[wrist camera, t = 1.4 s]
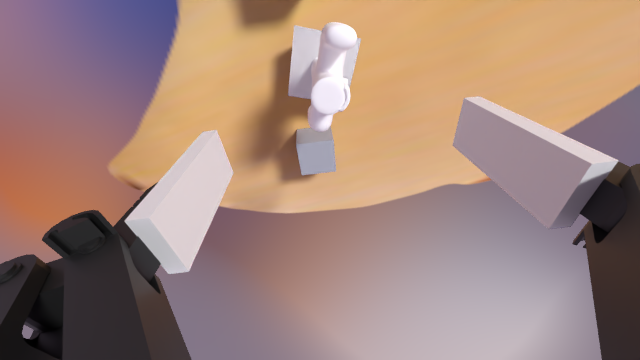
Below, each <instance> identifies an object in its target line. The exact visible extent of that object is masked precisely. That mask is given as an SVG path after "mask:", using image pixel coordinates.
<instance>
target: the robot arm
mask: <svg viewBox="0 0 640 360" xmlns="http://www.w3.org/2000/svg"><path fill="white" fill-rule="evenodd" d="M453 146H454V147H455V148H456V149H457V150H458V151H460V152H461V153H462V154H463V155H464V156H465V157H466V158H468V159H469V160H470V161H471V162H472V163H473V164H474V165H476V166H477V167H478V168H479V169H480V170H481V171H482V172H484V173H485V174H486V175H487V176H488V177H489V178H491V179H492V180H493V181H494V182H495V183H496V184H497V185H499V186H500V187H501V188H502V189H503V190H505V192H507V193H508V194H509V195H510V196H511V197H512V198H513V199H515V200H516V201H517V202H518V203H519V204H520V205H521V206H523V207H524V208H525V209H526V210H527V211H529V212H530V213H531V214H532V215H533V216H534V217H535V218H536V219H538V220H539V221H540V222H541V223H542V224H543V225H545V226H546V227H547V228H548V229H556V228H565V227H571V225H572V224H573V223H574V221H575V220H576V219H577V217H578V216H579V214H581V215H583V216H584V217H586V218H587V219H588V220H589V221H588V223H587V224H586V225H585V226H584V228H583V229H582V230H581V232H580V233H579V234H578V236H577V237H576V238H575V239H574V241H573V244H574V245H577V244H578V243H579V242H580V241H583V240H585V242H586V244H585V245H584V246H583V248H586V249H587V256H588V262H589V270H590V277H591V285H592V292H593V299H594V306H595V313H596V320H597V327H598V335H599V342H600V349H601V355H602V360H640V164H636V165H633V166H631V167H629V166H627V165H625V164H622V163H620V162H618V160H616V159H614V158H612V157H610V156H608V155H605V154H603V153H601V152H599V151H597V150H594V149H592V148H590V147H588V146H586V145H583V144H581V143H579V142H577V141H575V140H573V139H571V138H568V137H566V136H564V135H562V134H560V133H558V132H555V131H553V130H551V129H549V128H547V127H545V126H542V125H540V124H538V123H536V122H534V121H531V120H529V119H527V118H525V117H523V116H521V115H518V114H516V113H514V112H512V111H510V110H508V109H505V108H503V107H501V106H499V105H497V104H495V103H492V102H490V101H488V100H486V99H484V98H481V97H479V96H477V97H469V98H464V100H463V104H462V108H461V113H460V117H459V121H458V125H457V129H456V133H455V137H454V142H453ZM232 175H233V170H232V168H231V165H230V163H229V160H228V158H227V155H226V153H225V150H224V147H223V145H222V142H221V140H220V137H219V135H218V132H217V130H213V131H205V132H202V133H201V134H200V135H199V136H198V138H197V139H196V140H195V141H194V142H193V143H192V144H191V146H190V147H189V148H188V149H187V150H186V151H185V152H184V154H183V155H182V156H181V157H180V158H179V159H178V160H177V162H176V163H175V164H174V165H173V166H172V167H171V168H170V169H169V171H168V172H167V173H166V174H165V175H164V176H163V177H162V179H161V180H160V181H159V182H157V183H156V184H154V185H153V186H152V187H150V188H149V189H147V190H146V191H145V192H144V194H143V195H142V196H141V197H140V200H137V201H136V203H134V205H133V207H131V208H130V209H129V210H128V211H127V212H126V213H125V215H124V216H123V217H122V218H121V219H120V220H119V221H118V222H117V223H116V225H115V226H114V227H112V225H111V224H110V223H109V222H108V221H107V220H106V219H105V218H104V217H103V216H102V214H101V213H100V212H99V211H96V210H90V211H84V212H81V213H78V214H75V215H73V216H71V217H69V218H67V219H65V220H63V221H61V222H60V223H58V224H56V225H55V226H53V227H52V228H51V229H50V230H49V231H48V232H47V233H46V234H45V235H44V237H43V239H42V241H44V242H45V243H46V244H47V245H48V246H50V247H51V248H52V249H53V250H54V251H56V252H57V253H58V254H59V255H60V256H62V257H63V258H61V259H58V260H55V261H52V262H49V263H46V264H45V263H44V262H43V261H42V260H40V259H39V258H38V257H36V256H35V255H24V256H20V257H17V258H15V259H12V260H10V261H6V262H4V263H2V264H0V360H191V357H190V355H189V352H188V350H187V347H186V345H185V342H184V340H183V337H182V334H181V332H180V329H179V327H178V324H177V322H176V319H175V317H174V314H173V312H172V309H171V306H170V304H169V302H168V299H167V296H166V294H165V291H164V289H163V286H162V284H161V281H160V279H159V278H158V277H157V276H156V275H155V273H156V271H157V269H158V268H159V266H160V264H161V265H162V267H163V268H164V269H165V270H166V271H167V273H168V274H172V273H181V272H189V270H190V268H191V266H192V263H193V261H194V259H195V257H196V254H197V253H198V250H199V248H200V246H201V244H202V241H203V239H204V237H205V235H206V233H207V230H208V228H209V226H210V224H211V222H212V219H213V217H214V215H215V213H216V210H217V208H218V206H219V204H220V202H221V199H222V197H223V195H224V193H225V190H226V188H227V186H228V184H229V182H230V179H231V177H232ZM23 325H26V326H28V327H30V328H32V329H33V330H34V331H33V333H32V336H31V337H30V339H25V338H23V335H22V330H23Z"/></svg>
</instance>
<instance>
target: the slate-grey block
mask: <svg viewBox="0 0 640 360" xmlns="http://www.w3.org/2000/svg"><path fill="white" fill-rule="evenodd" d="M296 148H297V153H298V158H299V163H300V169H301V174H302V175H309V174H317V173H326V172H334V171H336V164H335V152H334V140H333V136H332V131H331V126H330V127H329V129H328V130H326V131H324V132H318V131H315V130H313V129H312V128H304V129H297V136H296Z"/></svg>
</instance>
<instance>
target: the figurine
mask: <svg viewBox="0 0 640 360" xmlns="http://www.w3.org/2000/svg"><path fill="white" fill-rule="evenodd" d="M360 41H361V39H360V38H357V35H356V32H355V31H354V29H353V28H351V27H350V26H348V25H346V24H342V23H339V22H330V23H328V24H326V25H325V26H324V27H323V29H322V31H320V30H315V29H310V28H305V27H300V26H295V25H294V34H293V45H292V57H291V68H290V79H289V90H288V96H293V97H300V98H306V99H311V106H310V107H309V108H308V123H309V125H310V127H311V128H312V129H313V130H315V131H318V132H324V131H326V130H328V129H329V127H330V126H331V123H332V118H333V114H335V113H337V112H338V111H341V112H342V111H343V110H344V109H345V108H346V107H347V106H348V104H349V101H350V90H349V88H350V84H351V80H352V76H353V71H354V67H355V63H356V58H357V54H358V50H359V46H360Z"/></svg>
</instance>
